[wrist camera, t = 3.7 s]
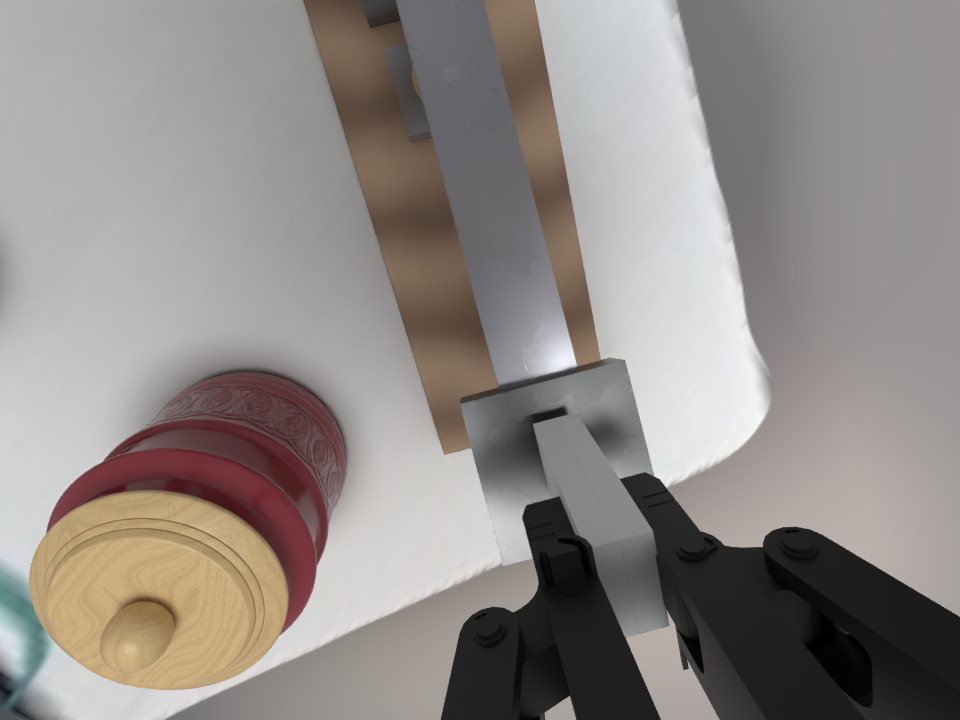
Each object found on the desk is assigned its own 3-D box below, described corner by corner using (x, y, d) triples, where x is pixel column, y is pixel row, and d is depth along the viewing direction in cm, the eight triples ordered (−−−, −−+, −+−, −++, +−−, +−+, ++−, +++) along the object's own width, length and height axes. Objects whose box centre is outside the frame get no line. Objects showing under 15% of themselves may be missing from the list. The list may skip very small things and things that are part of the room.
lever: (326, -106, 20) (303, -176, 18) (477, -146, 20) (478, -222, 18) (499, 536, 22) (503, 566, 19) (641, 498, 22) (666, 522, 19)
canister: (277, 332, 35) (139, 464, 19) (384, 476, 39) (349, 690, 23) (120, 425, 36) (-143, 629, 20) (239, 556, 41) (105, 816, 24)
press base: (285, -72, 28) (167, -280, 16) (501, -129, 28) (558, -383, 16) (443, 441, 39) (449, 567, 26) (601, 399, 39) (683, 505, 26)
